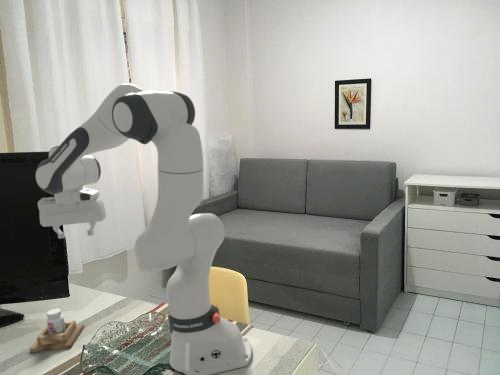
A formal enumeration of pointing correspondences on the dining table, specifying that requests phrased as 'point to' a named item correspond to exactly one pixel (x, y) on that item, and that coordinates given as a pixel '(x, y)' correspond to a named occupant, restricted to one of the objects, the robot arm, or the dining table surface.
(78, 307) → the dining table surface
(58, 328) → the pill bottle
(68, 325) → the brown square wooden holder
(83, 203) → the robot arm
